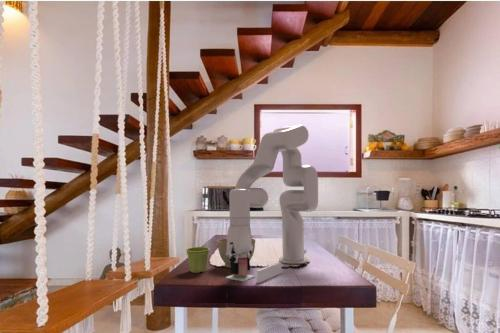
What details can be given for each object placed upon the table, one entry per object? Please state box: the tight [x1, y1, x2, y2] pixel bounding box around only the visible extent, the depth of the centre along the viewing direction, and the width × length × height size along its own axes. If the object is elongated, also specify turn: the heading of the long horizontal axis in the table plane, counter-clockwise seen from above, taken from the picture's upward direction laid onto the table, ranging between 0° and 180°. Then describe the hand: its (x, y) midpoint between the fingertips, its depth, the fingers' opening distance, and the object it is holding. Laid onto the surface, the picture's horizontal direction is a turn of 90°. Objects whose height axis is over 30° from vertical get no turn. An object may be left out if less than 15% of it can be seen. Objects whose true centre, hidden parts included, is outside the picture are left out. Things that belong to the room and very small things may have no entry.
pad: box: [225, 274, 256, 282], centre depth 120 cm, size 7×8×1 cm
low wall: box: [255, 261, 282, 284], centre depth 120 cm, size 16×1×4 cm, turn 146°
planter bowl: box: [216, 237, 256, 269], centre depth 138 cm, size 16×16×11 cm
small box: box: [234, 253, 248, 276], centre depth 120 cm, size 5×4×8 cm
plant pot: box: [185, 246, 211, 274], centre depth 130 cm, size 9×9×9 cm
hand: (240, 271), depth 120 cm, fingers open, 6 cm apart
